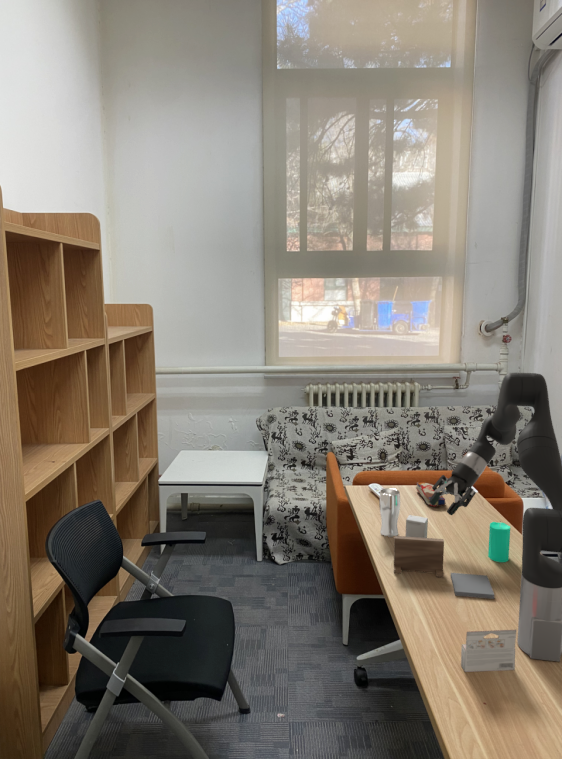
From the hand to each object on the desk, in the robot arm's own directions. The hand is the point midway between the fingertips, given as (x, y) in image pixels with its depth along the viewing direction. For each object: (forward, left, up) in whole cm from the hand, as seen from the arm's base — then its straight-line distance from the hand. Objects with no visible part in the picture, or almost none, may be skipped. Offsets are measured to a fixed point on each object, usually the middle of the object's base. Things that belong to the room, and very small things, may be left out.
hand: (439, 508), depth 166 cm
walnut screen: (-15, +7, -14) cm, 21 cm away
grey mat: (-22, -7, -14) cm, 27 cm away
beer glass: (+9, +15, -14) cm, 23 cm away
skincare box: (-5, +7, -14) cm, 16 cm away
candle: (-3, -18, -14) cm, 23 cm away
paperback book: (+43, -1, -14) cm, 45 cm away
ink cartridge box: (-55, -5, -14) cm, 57 cm away
